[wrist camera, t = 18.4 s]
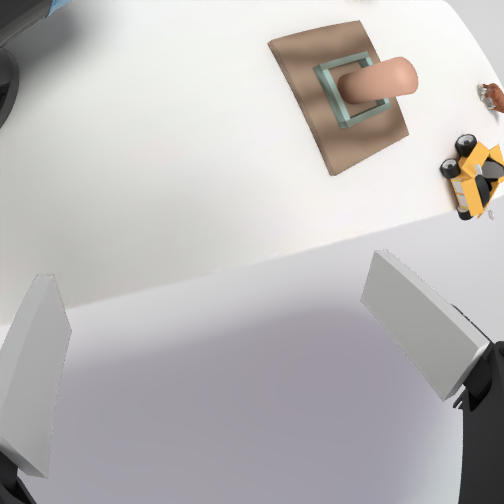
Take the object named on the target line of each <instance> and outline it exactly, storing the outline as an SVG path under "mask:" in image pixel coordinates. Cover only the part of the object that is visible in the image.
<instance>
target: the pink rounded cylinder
mask: <svg viewBox="0 0 504 504" xmlns="http://www.w3.org/2000/svg"><path fill="white" fill-rule="evenodd" d="M417 87H418V76H417V73H416V70H415V68H414V67H413V65H412V64H411V63H410V62H409V61H408V60H407V59H405V58H403V57H396V58H393V59H389V60H386V61H383V62H380V63H377V64H374V65H370V66H367V67H365V68H362V69H359V70H356V71H353V72H350V73H347V74H345V75H342V76H341V77H340V78H339V80H338V83H337V89H338V91H339V94H340V96H341V98H342V99H343V100H344V101H345V102H347V103H349V104H359V103H364V102H368V101H374V100H379V99H384V98H390V97H395V96H401V95H407V94H412V93H414V92H415V91H416V90H417Z"/></svg>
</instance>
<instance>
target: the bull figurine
mask: <svg viewBox="0 0 504 504" xmlns="http://www.w3.org/2000/svg"><path fill="white" fill-rule="evenodd" d="M480 88H486V89H487V90H485V91H483V92H481V94H484V95H483V96H481V97H480V98H481V101H483V99H484V98H486V97H489V99H492V102H493V103H491V106H489V107H488V110H490V109H493V110H497V111H499V112H501V113H504V94H503V92H502V91H501V89H500V88H499V87H498V86H497V85H496V84H494V83H492V84H489V85H485V84H483V85H479V86H478V89H480ZM494 105H495V106H496V107H492V106H494Z"/></svg>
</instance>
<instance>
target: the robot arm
mask: <svg viewBox="0 0 504 504" xmlns="http://www.w3.org/2000/svg"><path fill="white" fill-rule="evenodd" d="M70 1H71V0H0V128H1V126H2V125H3V123H4V122H5V120H6V119H7V117H8V115H9V113H10V111H11V109H12V107H13V104H14V101H15V98H16V95H17V90H18V84H19V72H18V67H17V63H16V61H15V59H14V58H13V56H12V55H11V54H10V53H8V52H7V51H6V50H5V49H3V48H2V47H3V46H4V45H5V44H7V43H8V42H9V41H11V40H12V39H13V38H15V37H16V36H17V35H19V34H20V33H21V32H23V31H24V30H26V29H27V28H29V27H30V26H31V25H33V24H34V23H36V22H37V21H39V20H40V19H42V18H44V17H46V18H47V17H49V16H50V15H51V14H52V13H53V12H54V11H55V10H57V9H58V8H60V7H61V6H63V5H65V4H66V3H68V2H70ZM360 301H361V302H362V304H363V305H364V306H365V307H366V308H367V309H368V311H369V312H370V313H371V314H372V315H373V316H374V318H375V319H376V320H377V321H378V322H379V323H380V325H381V326H382V327H383V328H384V329H385V331H386V332H387V333H388V334H389V335H390V337H391V338H392V339H393V340H394V341H395V342H396V344H397V345H398V346H399V347H400V349H401V350H402V351H403V352H404V353H405V355H406V356H407V357H408V358H409V360H410V361H411V362H412V363H413V365H414V366H415V367H416V368H417V369H418V371H419V372H420V373H421V375H422V376H423V377H424V378H425V380H426V381H427V382H428V383H429V385H430V386H431V387H432V389H433V390H434V391H435V392H436V394H437V395H438V396H439V397H440V399H441V400H442V401H444V400H446V399H447V398H450V397H451V396H453V395H455V393H456V392H457V391H458V389H459V388H460V387H461V385H462V384H463V385H464V386H465V387H466V388H465V390H464V391H463V392H462V394H461V395H460V396H459V398H458V399H457V400H456V401H455V403H454V405H453V408H456V406H457V405H458V404H459V403H460V402H461V401H462V403H461V405H460V406H459V408H458V409H462V410H463V456H462V473H461V484H460V493H459V502H458V504H504V341H498V342H496V344H494V343H493V342H492V341H491V340H490V339H489V338H488V337H487V336H486V335H485V334H484V333H483V332H482V331H481V330H479V328H478V327H477V326H476V325H474V324H473V323H472V322H470V320H469V319H468V318H467V317H466V316H464V315H463V313H462V312H461V311H460V310H459V309H457V308H456V307H455V306H454V305H452V304H450V303H449V302H448V301H447V300H446V299H445V298H443V297H442V296H441V295H440V294H439V293H438V292H437V291H436V290H434V289H433V288H432V287H431V286H430V285H429V284H428V283H427V282H425V281H424V280H423V279H422V278H421V277H420V276H419V275H417V274H416V273H415V272H414V271H413V270H411V269H410V268H409V267H408V266H407V265H406V264H404V263H403V262H402V261H400V259H398V258H397V257H396V256H395V255H393V254H392V253H391V252H390V251H389V250H376V251H374V254H373V258H372V262H371V266H370V269H369V273H368V276H367V280H366V284H365V287H364V290H363V294H362V297H361V300H360ZM71 332H72V330H71V327H70V325H69V322H68V319H67V316H66V313H65V310H64V307H63V304H62V301H61V298H60V294H59V291H58V288H57V284H56V281H55V277H54V274H48V275H37V276H36V277H35V279H34V281H33V283H32V285H31V287H30V289H29V290H28V292H27V294H26V296H25V298H24V300H23V302H22V304H21V306H20V308H19V310H18V312H17V314H16V316H15V319H14V321H13V323H12V325H11V327H10V330H9V332H8V334H7V336H6V339H5V341H4V343H3V346H2V348H1V351H0V504H36V502H35V501H34V499H33V498H32V496H31V495H30V493H29V492H28V490H27V489H26V487H25V485H24V484H23V482H22V481H21V479H20V478H19V477H18V476H17V470H18V468H19V469H21V470H22V471H23V472H24V473H26V474H27V475H30V476H36V477H41V478H48V474H49V459H50V447H51V438H52V429H53V422H54V414H55V408H56V402H57V396H58V391H59V385H60V380H61V375H62V370H63V365H64V361H65V356H66V352H67V348H68V344H69V340H70V335H71Z"/></svg>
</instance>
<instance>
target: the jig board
mask: <svg viewBox="0 0 504 504" xmlns="http://www.w3.org/2000/svg"><path fill="white" fill-rule="evenodd" d="M268 45H269V47H270V49H271V51H272V53H273V55H274V56H275V58H276V60H277V62H278V64H279V66H280V68H281V70H282V71H283V73H284V75H285V77H286V79H287V81H288V83H289V85H290V87H291V89H292V91H293V93H294V95H295V97H296V99H297V101H298V104H299V106H300V108H301V110H302V112H303V114H304V116H305V118H306V120H307V123H308V125H309V127H310V129H311V131H312V134H313V136H314V138H315V140H316V143H317V145H318V147H319V150H320V152H321V154H322V157H323V159H324V161H325V164H326V166H327V169H328V171H329V173H330V175H334V176H336V175H338V174H339V173H341V172H343V171H345V170H346V169H348V168H350V167H352V166H354V165H355V164H357V163H359V162H361V161H363V160H364V159H366V158H368V157H370V156H372V155H373V154H375V153H377V152H379V151H381V150H382V149H384V148H386V147H388V146H390V145H391V144H393V143H395V142H397V141H399V140H401V139H402V138H404V137H406V136H408V135H409V132H408V129H407V127H406V124H405V121H404V118H403V115H402V112H401V110H400V107H399V104H398V102H397V99H396V97H390V98H384V99H379V100H374V101H368V102H364V103H359V104H349V103H347V102H345V101H344V100H343V99H342V98H341V96H340V94H339V91H338V89H337V83H338V80H339V78H340V77H341V76H342V75H345V74H347V73H350V72H353V71H356V70H359V69H362V68H365V67H367V66H370V65H374V64H377V63H380V59H379V57H378V55H377V53H376V51H375V49H374V47H373V45H372V43H371V41H370V39H369V37H368V35H367V33H366V31H365V29H364V27H363V25H362V24H361V22H360V20H359V21H353V22H347V23H341V24H336V25H331V26H326V27H321V28H316V29H312V30H308V31H304V32H300V33H296V34H292V35H288V36H284V37H281V38H277V39H274V40H271V41H270V42H269V43H268Z"/></svg>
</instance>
